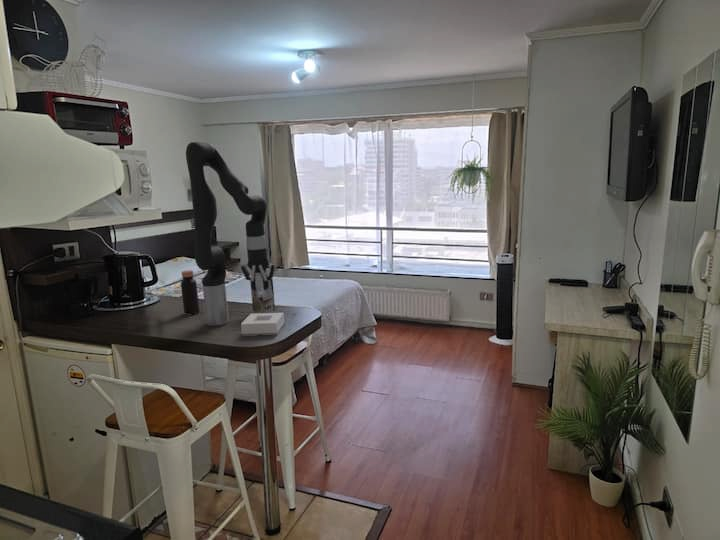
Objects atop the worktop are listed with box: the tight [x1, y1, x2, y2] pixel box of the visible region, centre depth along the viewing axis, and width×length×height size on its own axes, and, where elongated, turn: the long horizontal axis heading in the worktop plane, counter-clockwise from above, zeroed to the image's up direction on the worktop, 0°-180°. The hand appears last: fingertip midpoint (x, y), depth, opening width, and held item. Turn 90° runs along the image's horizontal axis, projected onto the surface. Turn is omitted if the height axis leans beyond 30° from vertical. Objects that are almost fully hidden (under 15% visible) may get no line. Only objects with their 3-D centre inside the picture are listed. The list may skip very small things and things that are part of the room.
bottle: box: [180, 270, 200, 315], centre depth 215 cm, size 7×7×20 cm
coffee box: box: [249, 278, 276, 313], centre depth 210 cm, size 9×6×16 cm
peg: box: [254, 272, 266, 298], centre depth 184 cm, size 4×4×10 cm
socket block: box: [240, 312, 285, 337], centre depth 187 cm, size 14×14×5 cm
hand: (260, 289), depth 185 cm, fingers closed on peg, 4 cm apart
